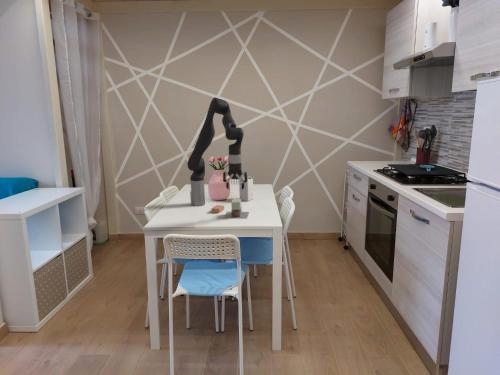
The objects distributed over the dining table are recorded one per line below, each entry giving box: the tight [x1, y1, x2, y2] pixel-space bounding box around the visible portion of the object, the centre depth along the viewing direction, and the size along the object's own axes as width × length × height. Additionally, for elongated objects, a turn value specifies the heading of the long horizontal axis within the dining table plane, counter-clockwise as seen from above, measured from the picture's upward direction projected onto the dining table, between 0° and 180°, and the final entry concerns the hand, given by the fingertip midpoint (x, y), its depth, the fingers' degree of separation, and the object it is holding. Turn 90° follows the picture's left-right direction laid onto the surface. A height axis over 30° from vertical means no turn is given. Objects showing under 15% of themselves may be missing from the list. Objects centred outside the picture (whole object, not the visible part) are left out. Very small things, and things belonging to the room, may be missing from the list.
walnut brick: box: [230, 207, 243, 217], centre depth 219 cm, size 5×8×4 cm, turn 174°
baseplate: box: [223, 211, 250, 220], centre depth 220 cm, size 14×14×2 cm
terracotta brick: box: [211, 204, 225, 214], centre depth 229 cm, size 5×8×4 cm, turn 162°
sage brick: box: [230, 198, 242, 210], centre depth 218 cm, size 5×8×4 cm, turn 176°
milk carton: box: [238, 173, 254, 202], centre depth 261 cm, size 7×7×19 cm
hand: (235, 189), depth 216 cm, fingers open, 8 cm apart
